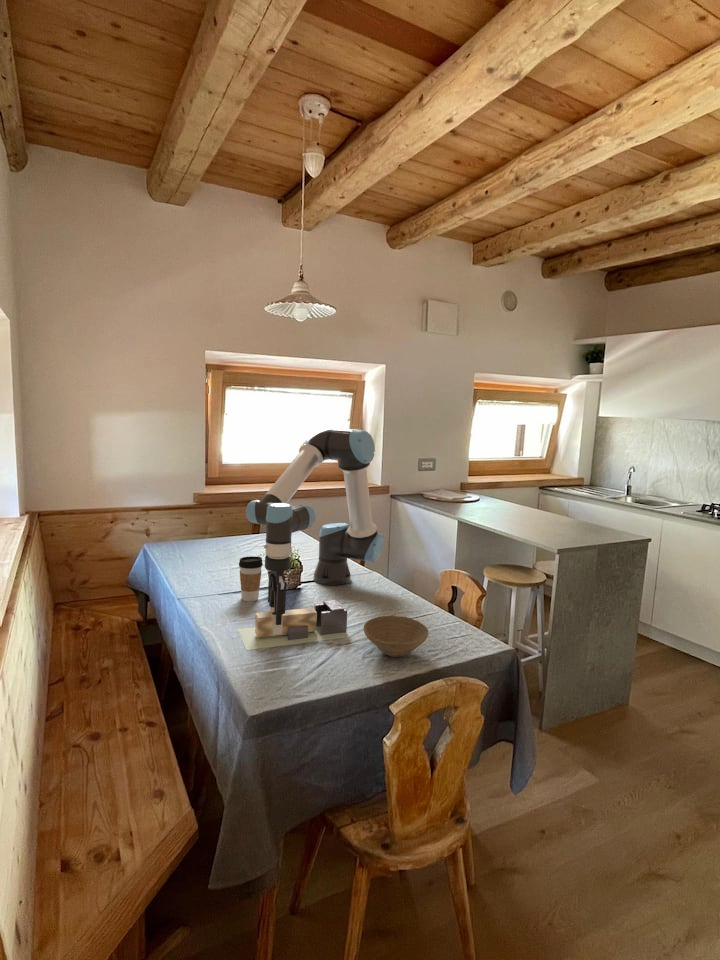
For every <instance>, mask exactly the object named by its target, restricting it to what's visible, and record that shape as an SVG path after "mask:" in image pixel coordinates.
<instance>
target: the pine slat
mask: <svg viewBox="0 0 720 960" xmlns="http://www.w3.org/2000/svg"><path fill="white" fill-rule="evenodd" d="M273 612H274V611H273ZM254 623H255V625H254V627H255V633H256V635H257V637H267V636H276V635H273V615H272V612H270V611H265V612H264V611H263V612H256V613H255V622H254ZM316 623H317V612H316V611H315V609H314V607H309V608H297V609H287V610H286V609H285V614H283V621H282V634H278V635H285V634H288V627H297V626H306V625H307V626H308V632H313V631H316Z"/></svg>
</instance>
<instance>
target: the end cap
mask: <svg viewBox="0 0 720 960" xmlns="http://www.w3.org/2000/svg"><path fill="white" fill-rule="evenodd" d="M313 606H314V607H313V608H314V609H315V611H316V612H317V623H316V626H321V627H320V634H321V635H327V634H335V633H344V632H346V631H347V628H348V609H346V607H345V606H343V604H342V603H340V601H337V600H336V599H330V600H323V603H322V602H321V603H315V604H314V605H313ZM347 632H348V631H347Z"/></svg>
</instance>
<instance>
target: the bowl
mask: <svg viewBox="0 0 720 960" xmlns="http://www.w3.org/2000/svg"><path fill="white" fill-rule="evenodd" d="M363 633H364V635H365V636H366V638H367V639H368V640H369V641H370V642H371V643H372V644H373V645H374V646H375V647H377V649H378V650H379V651H381V653H383V654H385V655H387V656H389V657H393V658H397V657H398V658H399V657H403V656H406V655H408V654H410V653H411V652H413V651H414V650H415V649H417V648H418V647H419V646H421V645H422V644H423V643H424V642H425V641H426V640H427V639H428V637H429V629H428V628H427V626H425V624H423V623H422V622H420V621H418V620H416V619H413V618H411V617H407V616H396V615H381V616H376V617H373V618H371V619H368V620H367V621H366V622H365V623H364V624H363Z"/></svg>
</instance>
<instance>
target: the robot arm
mask: <svg viewBox="0 0 720 960" xmlns="http://www.w3.org/2000/svg"><path fill="white" fill-rule="evenodd" d="M375 445H376V444H375V442H374V439H373V436H372V435H371V434H370V433H369V432H368V431H367V430H363V429H358V428H355V429H354V428H353V429H352V428H337V427H328V428H327V427H326V428H323V429H321V430H319V431H317V432H315V433H314V434H312V436H311V435H310V437H308V438H307V439H306V440H305V441H304V442H303V443H302V444H301V446H300V447H299V449H298V454H297V455H296V457H295V458H294V459H293V460H292V461H291V462H290V464H289V465H288V466H287V468H286V469H285V470H284V471H283V472H282V474H281V475H280V476H279V477H278V478H277V480H276V481H275V482H274V483H273V484H272V486H271V487H270V488H269V490H268V491H267V492H266V493H265V494H264V495H263V497H262V498H261V499H253V500H251V501H249V502H248V504H247V505H246V508H245V516H246V518H247V520H248V522H250V523H252V524H255V525H257V524H258V525H259V526H261V525H263V526H265V545H263V549H265V551H264V553H265V557H264V568H265V570H267V577H268V585H267V587H268V589H267V591H268V593H267V603H268V606H269V612H272V615H273V635H278V634H282V621H283V614H285V610H286V601H287V596H286V595H287V588H288V582H286V575H284V574H285V571H288V570H290V568H291V558H292V557H291V555H292V534H294V533H297V532H299V531H305V530H306V529H307V530H308V529H309V528H311V527H312V526H313V525H314V524H315V522H316V518H317V517H316V512H315V510H314V509H313V508H312V506H310V505H308V504H303V505H302V504H299V505H291V504H290V503H289V501H290V500H291V499H292V497H293V496H295V494H296V493H297V491H298V490H299V489H300V487H301V486H302V485H303V483H304V482H305V481H306V480H307V478H308V477H309V476H310V474H311V473H312V471H314V469H315V468H316V467H318V466H321V465H322V463H323V462H324V461H327V460H332V461H337V465H338V469H339V470H340V471H342V472H343V478H344V485H345V486H344V489H345V494H346V501H347V508H348V509H347V510H348V516H349V517H348V518H349V523H346V522H335V523H334V522H333V523H332V522H331V523H327V524H323V525H322V526H321V527H320V530H319V536H318V537H319V540H318V541H319V544H318V562H317V564H316V568H315V570H314V572H313V581H314V582H316V583H317V584H320V585H321V584H322V585H325V586H326V585H327V586H341V585H340V584H343V585H345V584H344V583H346V584H348V583H347V582H349V581H350V582H351V580H350V579H351V578H352V577H351V576H352V574H351V572H350V571H351V570H350V567H349V563H348V559H352V560H358V561H362V562H364V563H367V562H369V563H375V562H376V561H378V560H379V558H380V557H381V555H382V553H383V550H384V545H385V537H384V536H385V535H383V533H380V532H379V533H378V527H377V525H376V524H375V523H374V522H373V515H372V514H373V513H372V508H371V507H372V505H371V499H370V498H371V497H370V489H369V488H370V487H369V481H368V480H369V479H368V470H367V469H368V468H369V466H370V464H371V462H373V460H374V457H375V451H376V447H375ZM350 582H349V583H350ZM273 611H274V612H273Z"/></svg>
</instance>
